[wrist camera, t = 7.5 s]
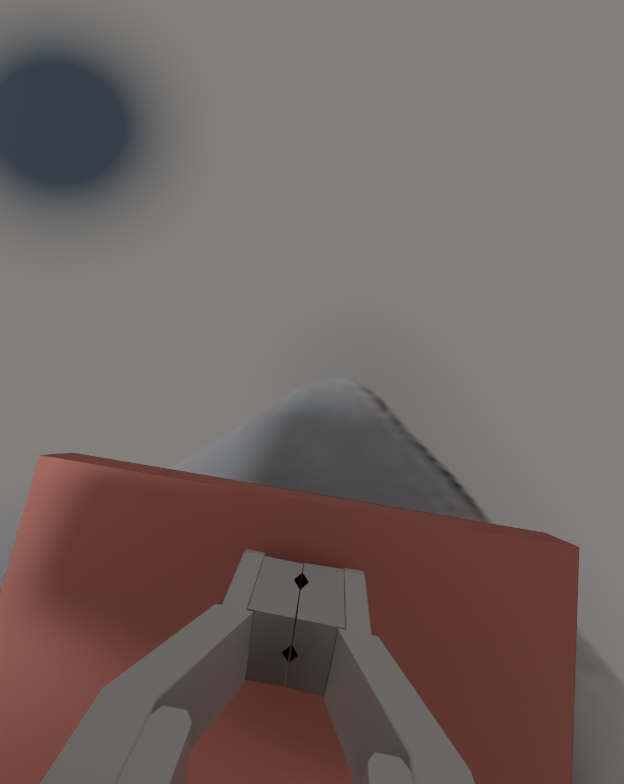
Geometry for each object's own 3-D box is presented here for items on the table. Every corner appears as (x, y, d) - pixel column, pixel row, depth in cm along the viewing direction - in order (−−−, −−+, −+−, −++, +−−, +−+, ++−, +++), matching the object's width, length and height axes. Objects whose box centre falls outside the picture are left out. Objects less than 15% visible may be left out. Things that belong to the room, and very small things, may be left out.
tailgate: (-67, 829, 7) (40, 454, 9) (8, 752, 9) (87, 452, 10) (565, 972, 7) (579, 547, 8) (513, 859, 8) (531, 527, 10)
